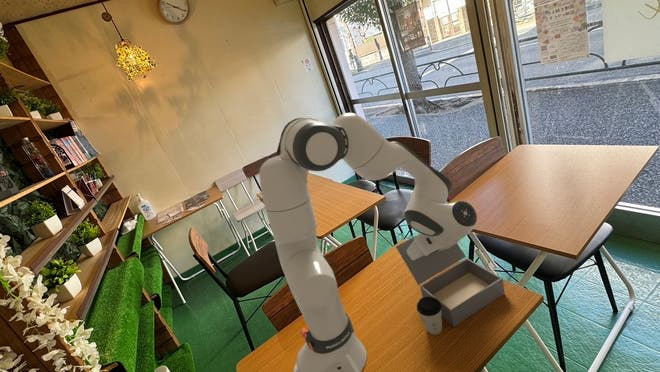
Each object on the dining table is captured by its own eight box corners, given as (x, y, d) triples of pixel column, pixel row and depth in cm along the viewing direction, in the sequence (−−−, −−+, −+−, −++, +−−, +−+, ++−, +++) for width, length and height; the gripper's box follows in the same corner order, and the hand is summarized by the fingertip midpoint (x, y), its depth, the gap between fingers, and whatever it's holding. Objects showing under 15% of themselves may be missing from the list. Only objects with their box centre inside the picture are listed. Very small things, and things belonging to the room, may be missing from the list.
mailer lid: (396, 246, 105) (395, 246, 105) (418, 284, 101) (418, 284, 101) (442, 221, 110) (441, 221, 110) (465, 256, 106) (465, 256, 106)
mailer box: (454, 327, 90) (450, 311, 88) (423, 300, 102) (419, 286, 100) (504, 293, 95) (502, 278, 93) (469, 271, 107) (466, 257, 105)
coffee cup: (448, 321, 92) (442, 295, 89) (444, 340, 87) (437, 314, 83) (425, 316, 96) (419, 292, 93) (419, 335, 91) (412, 309, 87)
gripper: (463, 210, 97) (447, 226, 109) (410, 239, 92) (399, 252, 104) (476, 227, 95) (458, 241, 107) (422, 258, 90) (410, 269, 102)
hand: (428, 247), depth 106 cm, fingers closed, pressing on mailer lid
